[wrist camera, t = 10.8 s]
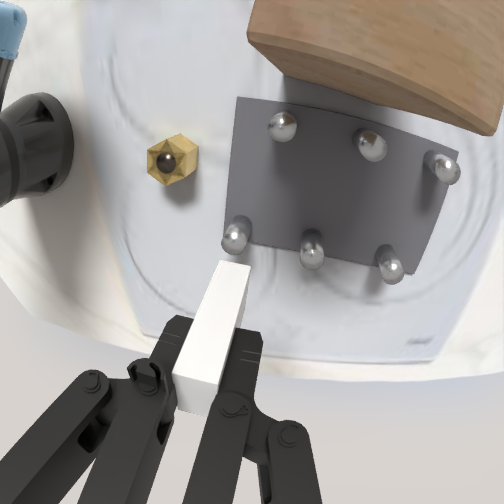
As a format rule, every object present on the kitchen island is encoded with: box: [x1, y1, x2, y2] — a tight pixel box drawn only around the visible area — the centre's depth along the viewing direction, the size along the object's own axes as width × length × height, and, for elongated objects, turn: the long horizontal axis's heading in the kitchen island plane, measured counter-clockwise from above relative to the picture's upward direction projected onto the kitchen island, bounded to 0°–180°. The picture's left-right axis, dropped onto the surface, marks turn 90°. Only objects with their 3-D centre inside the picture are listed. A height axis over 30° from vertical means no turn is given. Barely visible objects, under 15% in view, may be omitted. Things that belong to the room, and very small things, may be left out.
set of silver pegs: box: [221, 111, 460, 285], centre depth 28 cm, size 21×14×4 cm
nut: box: [147, 133, 198, 186], centre depth 29 cm, size 5×4×4 cm
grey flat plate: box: [223, 97, 459, 274], centre depth 30 cm, size 24×16×1 cm, turn 83°
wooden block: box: [246, 0, 504, 136], centre depth 13 cm, size 10×10×20 cm
